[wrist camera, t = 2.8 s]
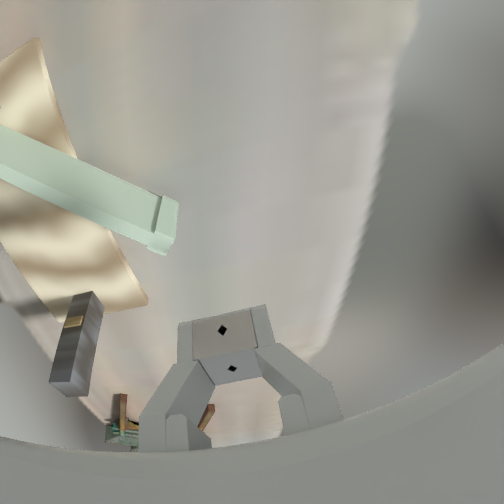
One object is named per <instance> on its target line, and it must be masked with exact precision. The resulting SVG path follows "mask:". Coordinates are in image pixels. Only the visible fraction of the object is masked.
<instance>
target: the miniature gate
mask: <svg viewBox="0 0 504 504" xmlns="http://www.w3.org/2000/svg"><path fill="white" fill-rule="evenodd" d="M126 405H127V395H126V394H120V424H119V423H113V426H111V425H106V437H105V442H111V443H117V444H123V445H130V446H131V450H130V451H138V444H139V426H138V425H135V424H133V423H131V422H129V421H128V418H126ZM214 412H215V406H214V404H208V405H207V406H206V409H205V411H204V413H203V415H202V417H201V419H200V422H199V424H198V426H197V427H198V428H199V429H200V430H201V431H203V430H204V428H205V427H206V425H207V423H208V422H209V420H210V419H211V417H212V415H213V414H214Z"/></svg>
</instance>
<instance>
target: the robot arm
mask: <svg viewBox="0 0 504 504" xmlns="http://www.w3.org/2000/svg"><path fill="white" fill-rule="evenodd" d="M262 376H263V378H264V379H265V380H266V381H267V382H268V383H269V384H270V385H271V386H272V387H273V388H274V389H275V390H276V391H277V392H278V393H279V394H280V395H281V396H282V397H281V398H280V399H279V401H278V403H279V408H280V413H281V418H282V423H283V427H284V432H285V436H282V437H277V438H273V439H268V440H263V441H257V442H252V443H246V444H240V445H233V446H226V447H219V448H212V444H211V438H209V437H208V436H207V435H206V434H205V433H204V432H202V431H201V430H200V429H199V428H198V427H197V426H198V424H199V422H200V419H201V417H202V415H203V413H204V411H205V409H206V406H207V404H208V402H209V400H210V398H211V396H212V393H213V391H214V389H215V386H217V385H221V384H226V383H231V382H236V381H241V380H246V379H252V378H257V377H262ZM0 504H504V343H503V344H502V345H500V346H498V347H497V348H495V349H494V350H492V351H491V352H489V353H487V354H486V355H484V356H483V357H481V358H479V359H478V360H476V361H474V362H473V363H471V364H469V365H467V366H466V367H464V368H462V369H460V370H458V371H457V372H455V373H453V374H451V375H449V376H447V377H445V378H443V379H441V380H440V381H437V382H435V383H434V384H431V385H429V386H427V387H425V388H423V389H421V390H419V391H417V392H414V393H412V394H410V395H408V396H405V397H403V398H401V399H398V400H396V401H393V402H391V403H389V404H387V405H384V406H381V407H379V408H376V409H373V410H371V411H368V412H365V413H362V414H359V415H356V416H354V417H350V418H347V419H343V415H342V413H341V409H340V407H339V404H338V401H337V398H336V395H335V392H334V389H333V386H332V383H331V382H330V381H328V380H327V379H326V378H325V377H323V376H322V375H321V374H319V373H318V372H317V371H316V370H314V369H313V368H312V367H310V366H309V365H308V364H306V363H305V362H304V361H303V360H301V359H300V358H299V357H297V356H296V355H295V354H294V353H292V352H291V351H290V350H289V349H287V348H286V347H285V346H284V345H282V344H281V343H275V339H274V335H273V331H272V327H271V323H270V320H269V316H268V312H267V308H266V305H265V304H264V305H260V306H256V307H251V309H250V308H247V309H242V310H238V311H234V312H230V313H226V314H222V315H219V316H213V317H208V318H203V319H197V320H193V321H187V322H182V323H179V325H178V341H177V364H173V366H172V367H171V369H170V370H169V372H168V373H167V375H166V376H165V378H164V379H163V381H162V382H161V384H160V385H159V387H158V388H157V390H156V392H155V393H154V395H153V396H152V398H151V399H150V401H149V402H148V404H147V405H146V407H145V408H144V410H143V411H142V413H141V414H140V416H139V444H138V453H123V452H122V453H121V452H100V451H85V450H76V449H67V448H59V447H52V446H45V445H39V444H34V443H28V442H24V441H18V440H14V439H10V438H6V437H1V436H0Z"/></svg>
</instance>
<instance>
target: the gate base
mask: <svg viewBox="0 0 504 504" xmlns="http://www.w3.org/2000/svg"><path fill="white" fill-rule="evenodd" d="M0 124H1V125H3V126H5V127H7V128H10V129H12V130H14V131H16V132H19V133H21V134H23V135H25V136H28V137H30V138H32V139H34V140H36V141H39V142H41V143H43V144H45V145H48V146H50V147H52V148H54V149H56V150H59V151H61V152H63V153H65V154H67V155H70V156H72V157H74V158H76V159H78V158H77V156H76V153H75V151H74V148H73V146H72V143H71V141H70V138H69V135H68V133H67V130H66V127H65V125H64V122H63V119H62V116H61V113H60V110H59V107H58V104H57V101H56V98H55V95H54V92H53V89H52V85H51V82H50V79H49V75H48V72H47V68H46V64H45V61H44V57H43V53H42V49H41V45H40V40H39V38H33V39H32V40H30V41H29V42H27V43H26V44H24V45H23V46H21V47H20V48H18V49H17V50H16V51H14V52H13V53H11V54H10V55H9V56H7V57H6V58H5V59H3V60H2V61H1V62H0ZM0 242H1V243H2V245H3V247H4V248H5V250H6V251H7V253H8V254H9V256H10V257H11V259H12V260H13V262H14V263H15V265H16V266H17V268H18V269H19V271H20V272H21V274H22V275H23V276H24V278H25V279H26V281H27V282H28V283H29V285H30V286H31V287H32V289H33V290H34V291H35V293H36V294H37V295H38V297H39V298H40V299H41V301H42V302H43V303H44V304H45V306H46V307H47V308H48V309H49V310H50V312H51V313H52V314H53V315H54V317H55V318H56V319H57V320H58V321H59V322H65V323H64V326H63V329H62V333H61V336H60V339H59V343H58V347H57V350H56V354H55V358H54V362H53V366H52V370H51V374H50V379H49V383H50V384H51V385H53V386H54V387H55V388H56V389H57V390H59V391H60V392H61V393H63V394H64V395H65V396H66V397H79V396H88V393H89V386H90V379H91V373H92V367H93V362H94V356H95V351H96V346H97V341H98V336H99V331H100V326H101V322H102V318H103V314H106V313H111V312H116V311H121V310H126V309H131V308H136V307H140V306H145V305H147V304H148V298H147V296H146V295H145V293H144V291H143V289H142V288H141V286H140V284H139V283H138V281H137V279H136V277H135V276H134V274H133V272H132V270H131V268H130V267H129V265H128V263H127V261H126V259H125V258H124V256H123V254H122V252H121V250H120V248H119V246H118V244H117V242H116V241H115V239H114V237H113V235H112V233H111V231H110V229H108V228H106V227H103V226H101V225H99V224H97V223H94V222H92V221H90V220H88V219H86V218H83V217H81V216H79V215H77V214H74V213H72V212H70V211H68V210H66V209H63V208H61V207H59V206H57V205H55V204H53V203H51V202H48V201H46V200H44V199H42V198H40V197H38V196H36V195H34V194H31V193H29V192H27V191H25V190H23V189H21V188H19V187H17V186H15V185H13V184H11V183H9V182H7V181H5V180H2V179H0Z"/></svg>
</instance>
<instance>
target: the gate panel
mask: <svg viewBox="0 0 504 504" xmlns="http://www.w3.org/2000/svg"><path fill="white" fill-rule="evenodd" d="M0 179H2V180H5V181H7V182H9V183H11V184H13V185H15V186H17V187H19V188H21V189H23V190H25V191H27V192H29V193H31V194H34V195H36V196H38V197H40V198H42V199H44V200H46V201H48V202H51V203H53V204H55V205H57V206H59V207H61V208H63V209H66V210H68V211H70V212H72V213H74V214H77V215H79V216H81V217H83V218H86V219H88V220H90V221H92V222H94V223H97V224H99V225H101V226H103V227H106V228H108V229H110V230H113V231H115V232H117V233H119V234H122V235H124V236H126V237H129V238H131V239H133V240H136V241H138V242H140V243H143V244H145V245H147V246H146V249H149V250H151V251H153V252H156V253H158V254H160V255H163V256H165V255H166V254H167V252H168V250H169V249H170V247H171V245H172V243H173V242H174V240H175V235H176V225H177V216H178V207H179V202H177V201H174V200H172V199H170V198H168V197H166V196H164V195H163V196H162V198H161V197H159V196H157V195H154V194H152V193H150V192H148V191H146V190H144V189H141V188H139V187H137V186H135V185H133V184H131V183H129V182H126V181H124V180H122V179H120V178H118V177H116V176H113V175H111V174H109V173H107V172H105V171H103V170H100V169H98V168H96V167H94V166H92V165H89V164H87V163H85V162H83V161H81V160H78V159H76V158H74V157H72V156H70V155H67V154H65V153H63V152H61V151H59V150H56V149H54V148H52V147H50V146H48V145H45V144H43V143H41V142H39V141H36V140H34V139H32V138H30V137H28V136H25V135H23V134H21V133H19V132H16V131H14V130H12V129H10V128H7V127H5V126H3V125H1V124H0Z"/></svg>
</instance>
